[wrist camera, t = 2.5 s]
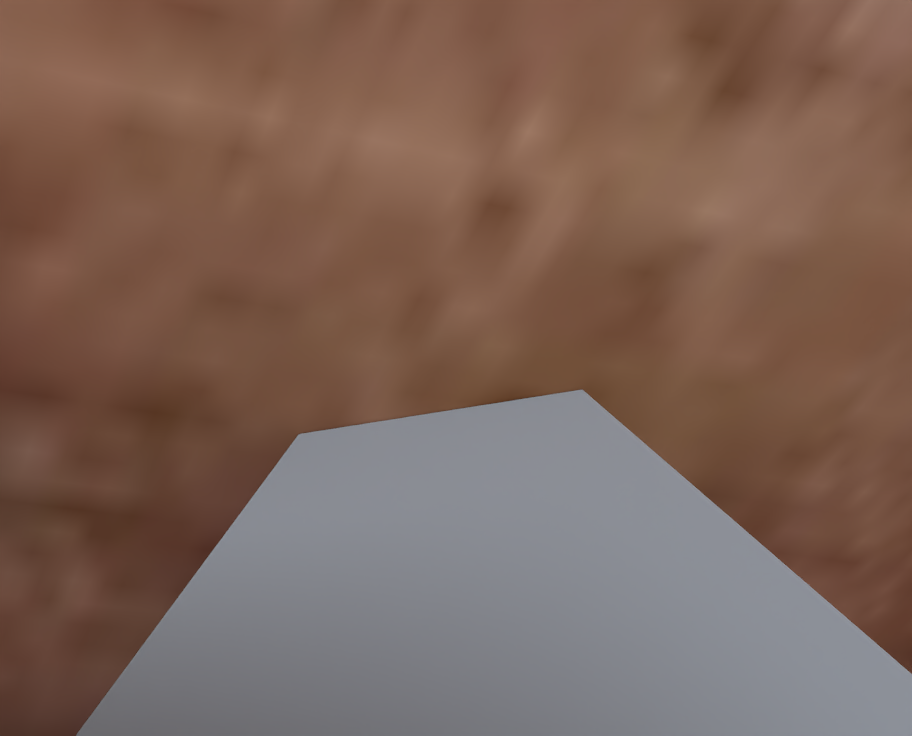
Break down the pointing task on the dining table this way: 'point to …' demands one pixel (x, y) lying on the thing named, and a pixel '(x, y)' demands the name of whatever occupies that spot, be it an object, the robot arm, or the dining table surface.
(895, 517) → the dining table surface
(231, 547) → the gray block
